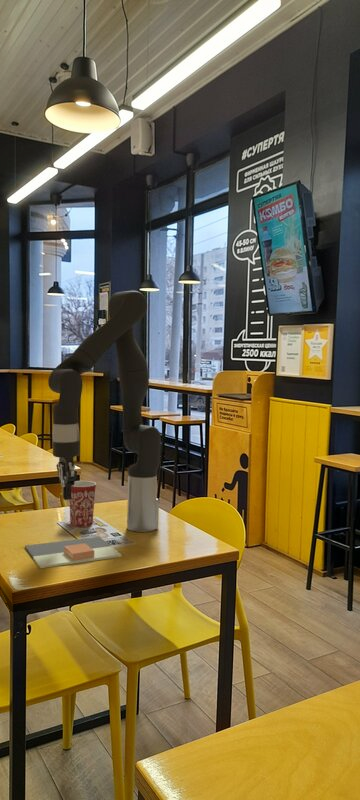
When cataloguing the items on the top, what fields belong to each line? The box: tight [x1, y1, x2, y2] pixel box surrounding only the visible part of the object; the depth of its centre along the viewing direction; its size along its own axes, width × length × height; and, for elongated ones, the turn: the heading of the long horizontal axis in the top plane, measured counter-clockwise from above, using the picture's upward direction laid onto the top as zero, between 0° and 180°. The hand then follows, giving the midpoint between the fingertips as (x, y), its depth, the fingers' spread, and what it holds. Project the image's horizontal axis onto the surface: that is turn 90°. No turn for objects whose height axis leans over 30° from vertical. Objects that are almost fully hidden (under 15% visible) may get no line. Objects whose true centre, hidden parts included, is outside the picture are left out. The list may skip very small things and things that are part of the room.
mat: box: [24, 536, 122, 569], centre depth 155 cm, size 22×18×1 cm
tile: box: [64, 543, 94, 560], centre depth 151 cm, size 6×2×7 cm
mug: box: [68, 480, 97, 528], centre depth 185 cm, size 13×9×14 cm
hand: (66, 499), depth 161 cm, fingers closed
